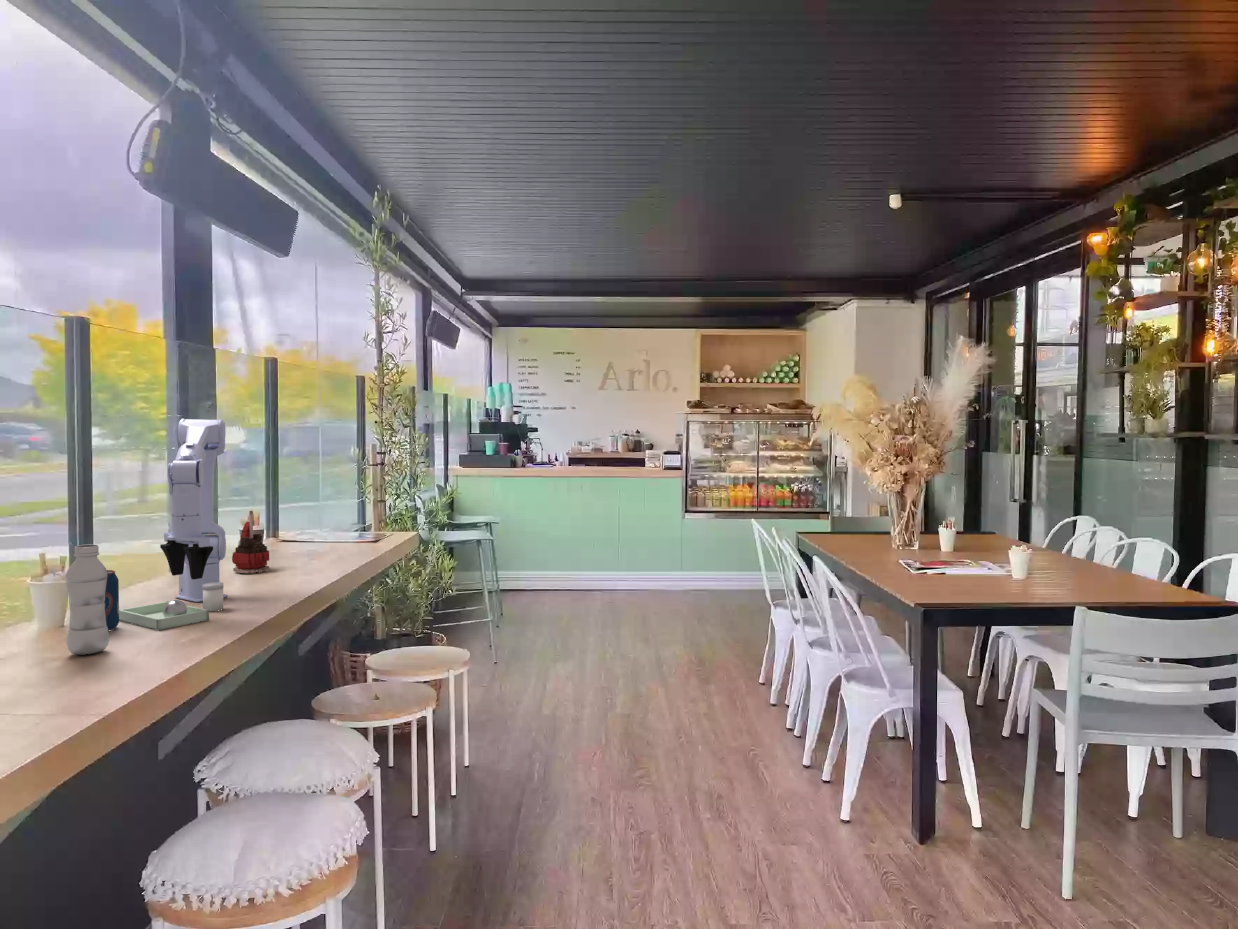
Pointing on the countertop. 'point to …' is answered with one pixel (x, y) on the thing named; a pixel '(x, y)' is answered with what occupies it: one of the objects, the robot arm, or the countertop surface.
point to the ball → (174, 608)
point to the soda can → (112, 600)
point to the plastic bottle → (87, 602)
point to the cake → (250, 551)
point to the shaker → (213, 596)
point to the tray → (161, 616)
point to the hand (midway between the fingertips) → (186, 576)
